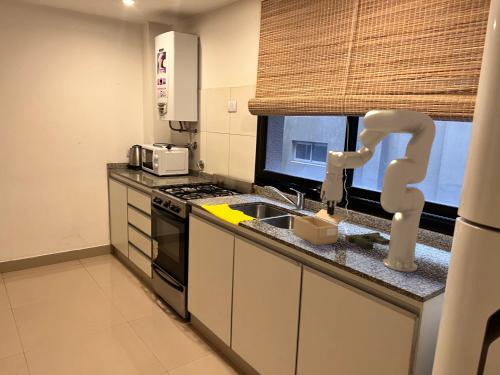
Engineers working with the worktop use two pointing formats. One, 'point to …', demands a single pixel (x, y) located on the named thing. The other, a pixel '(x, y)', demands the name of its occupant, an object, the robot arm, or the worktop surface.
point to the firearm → (367, 239)
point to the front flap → (302, 220)
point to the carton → (315, 230)
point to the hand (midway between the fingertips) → (330, 214)
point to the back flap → (329, 217)
